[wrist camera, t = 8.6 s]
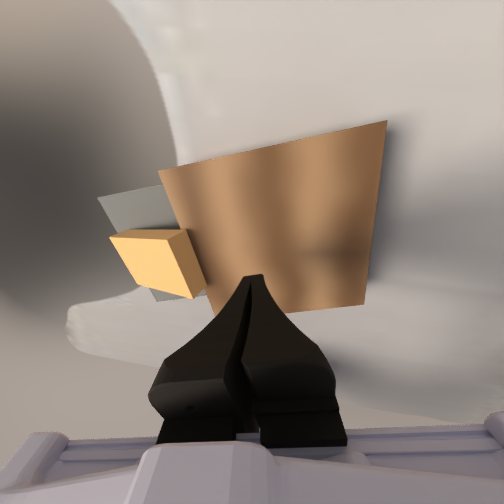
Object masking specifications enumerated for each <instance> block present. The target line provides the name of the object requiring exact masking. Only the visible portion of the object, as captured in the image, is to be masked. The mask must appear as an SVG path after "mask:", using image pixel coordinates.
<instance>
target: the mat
mask: <svg viewBox="0 0 504 504" xmlns="http://www.w3.org/2000/svg"><path fill="white" fill-rule="evenodd" d="M98 200H99V201H100V203H101V205H102V207H103V208H104V210H105V212H106V213H107V215H108V217H109V219H110V220H111V222H112V224H113V226H114V228H115V229H116V231H117V233H121V232H123V231H126V230H128V229H144V230H181V228H180V226H179V223H178V221H177V218H176V216H175V213H174V211H173V208H172V206H171V203H170V201H169V198H168V195H167V193H166V190H165V188H164V185H163V184H159V185H154V186H149V187H145V188H141V189H136V190H131V191H126V192H121V193H117V194H112V195H107V196H102V197H98ZM149 289H150V290H151V292H152V294H153V296H154V297H155V299H156V301H157V302H158V301H166V300H174V299H181V298H187V297H183V296H180V295H176V294H172V293H168V292H164V291H161V290H157V289H153V288H149ZM204 295H207V294H206V292H205V289H203V290H202V291H201V292H200V293H199V294H198V295H197V296H204ZM197 296H196V297H197Z"/></svg>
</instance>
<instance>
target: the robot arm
mask: <svg viewBox="0 0 504 504" xmlns="http://www.w3.org/2000/svg"><path fill="white" fill-rule="evenodd" d="M335 388H336V380H335V376H334V373H333V371H332V369H331V367H330V365H329V363H328V361H327V359H326V358H325V356H324V354H323V353H322V351H321V350H320V348H319V347H318V345H317V344H315V343H314V342H313V341H312V340H310V339H309V338H308V337H307V336H306V335H305V334H303V333H302V332H301V331H300V330H299V329H298V328H297V327H296V326H295V325H294V324H293V323H292V322H291V321H290V320H289V319H288V318H287V316H286V315H285V314H284V313H283V312H282V310H281V309H280V308H279V306H278V305H277V304H276V302H275V300H274V299H273V297H272V296H271V294H270V292H269V290H268V288H267V286H266V284H265V280H264V275H263V274H256V275H249V276H243V278H242V279H241V281H240V283H239V285H238V286H237V288H236V290H235V291H234V293H233V294H232V296H231V297H230V299H229V300H228V302H227V303H226V304H225V306H224V307H223V308H222V310H221V311H220V312H219V313H218V314H217V316H216V317H215V318H214V319H213V320H212V321H211V322H210V323H209V324H208V325H207V326H206V327H205V328H204V329H203V330H202V331H201V332H200V333H198V334H197V335H196V336H195V337H194V338H193V339H191V340H190V341H189V342H188V343H186V344H185V345H184V346H183V347H181V348H180V349H178V350H177V351H176V352H174V353H173V354H171V355H170V356H169V357H167V358H166V359H165V360H164V362H163V363H162V365H161V367H160V369H159V371H158V374H157V376H156V378H155V380H154V383H153V385H152V387H151V389H150V391H149V393H148V398H149V401H150V403H151V405H152V406H153V407H154V408H155V409H156V410H157V412H158V413H159V414H160V415H161V416H162V417H163V418H164V422H163V425H162V427H161V430H160V433H159V436H158V437H137V438H136V437H134V438H108V439H83V440H69V438H68V437H67V436H65V435H64V434H62V433H58V432H34V433H32V434H30V435H29V436H28V438H27V439H26V440H25V441H24V443H23V444H22V445H21V446H20V447H19V449H18V450H17V451H16V452H15V453H14V455H13V456H12V457H11V458H10V460H9V461H8V462H7V463H6V464H5V465H4V467H3V468H2V469H1V470H0V504H504V411H501V412H496V413H493V414H490V415H489V416H488V417H487V418H486V419H485V421H484V424H469V425H446V426H418V427H393V428H366V429H344V426H343V422H342V419H341V416H340V414H339V406H338V402H337V399H336V396H335Z"/></svg>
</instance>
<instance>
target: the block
mask: <svg viewBox="0 0 504 504" xmlns="http://www.w3.org/2000/svg"><path fill="white" fill-rule="evenodd" d="M109 238H110V239H111V241H112V243H113V244H114V246H115V248H116V249H117V251H118V253H119V254H120V256H121V258H122V259H123V261H124V263H125V264H126V266H127V267H128V269H129V271H130V272H131V274H132V276H133V277H134V279H135V281H136V282H137V284H138V285H142V286H146V287H149V288H153V289H157V290H161V291H164V292H168V293H172V294H176V295H180V296H183V297H187V298H191V299H194V298H195V297H196V296H197V295H198V294H199V293H200V292H201V291H202V290H203V289H204V288H205V287H206V286H207V284H206V281H205V278H204V276H203V273H202V271H201V268H200V265H199V263H198V260H197V257H196V255H195V252H194V250H193V247H192V244H191V242H190V239H189V237H188V234H187V231H186V230H144V229H128V230H126V231H123V232H121V233H118V234H116V235H114V236H111V237H109Z"/></svg>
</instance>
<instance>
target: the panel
mask: <svg viewBox="0 0 504 504" xmlns="http://www.w3.org/2000/svg"><path fill="white" fill-rule="evenodd" d="M386 127H387V120H386V121H381V122H377V123H372V124H368V125H363V126H359V127H354V128H350V129H345V130H341V131H336V132H332V133H327V134H323V135H318V136H314V137H309V138H305V139H300V140H296V141H291V142H287V143H282V144H278V145H273V146H269V147H264V148H260V149H255V150H251V151H246V152H241V153H237V154H232V155H228V156H223V157H219V158H214V159H210V160H205V161H201V162H196V163H192V164H187V165H183V166H178V167H174V168H170V169H165V170H160V171H158V173H159V175H160V178H161V180H162V183H163V185H164V188H165V190H166V193H167V195H168V198H169V201H170V203H171V206H172V208H173V211H174V213H175V216H176V218H177V221H178V223H179V226H180V228H181V230H186V231H187V234H188V237H189V239H190V242H191V244H192V247H193V250H194V252H195V255H196V257H197V260H198V263H199V265H200V268H201V271H202V273H203V276H204V278H205V281H206V284H207V286H206V287H205V288H204V289H205V292H206V294H207V297H208V299H209V302H210V304H211V307H212V309H213V312H214V314H215V317H216V316H217V314H218V313H219V312H220V311H221V310H222V308H223V307H224V306H225V304H226V303H227V302H228V300H229V299H230V297H231V296H232V294H233V293H234V291H235V290H236V288H237V286H238V285H239V283H240V281H241V279H242V278H243V276H249V275H256V274H263V275H264V280H265V284H266V286H267V288H268V290H269V292H270V294H271V296H272V297H273V299H274V300H275V302H276V304H277V305H278V306H279V308H280V309H281V310H282V312H283V313H293V312H302V311H311V310H320V309H329V308H337V307H346V306H355V305H364V300H365V292H366V285H367V277H368V269H369V261H370V253H371V245H372V237H373V229H374V221H375V214H376V206H377V198H378V190H379V182H380V174H381V166H382V158H383V151H384V143H385V135H386Z"/></svg>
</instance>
